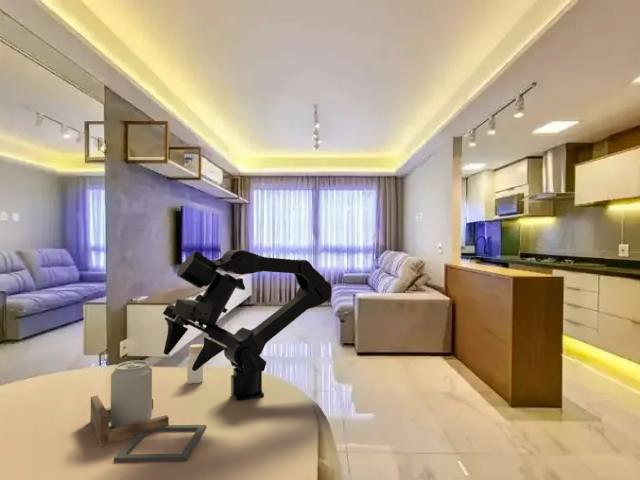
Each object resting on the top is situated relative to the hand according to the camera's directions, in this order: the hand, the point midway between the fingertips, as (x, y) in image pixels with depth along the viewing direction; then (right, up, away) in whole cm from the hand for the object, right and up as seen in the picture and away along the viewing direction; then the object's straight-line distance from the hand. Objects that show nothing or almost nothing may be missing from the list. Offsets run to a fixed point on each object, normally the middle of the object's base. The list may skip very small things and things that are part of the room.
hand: (178, 362), depth 84 cm
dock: (-7, -10, -6) cm, 14 cm away
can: (-7, -11, -6) cm, 14 cm away
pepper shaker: (-2, -11, +19) cm, 22 cm away
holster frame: (+2, -10, -14) cm, 18 cm away
